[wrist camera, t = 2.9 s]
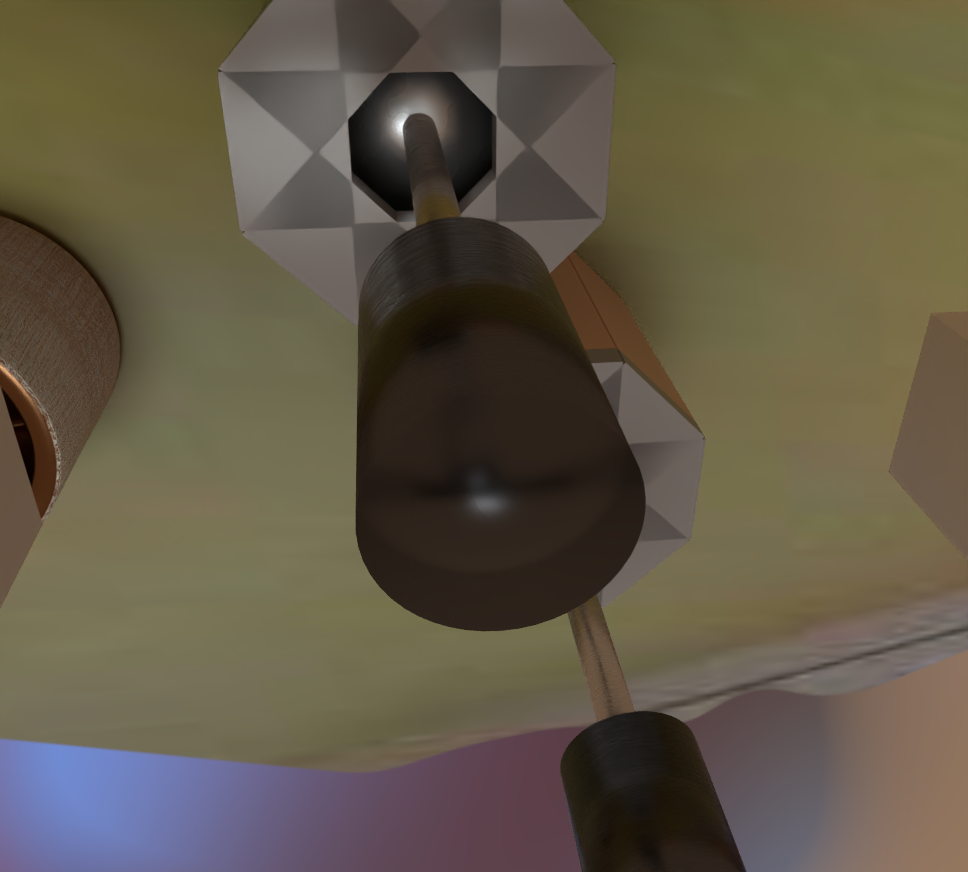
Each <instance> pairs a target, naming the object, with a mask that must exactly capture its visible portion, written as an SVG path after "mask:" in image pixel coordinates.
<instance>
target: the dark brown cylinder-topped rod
mask: <svg viewBox="0 0 968 872" xmlns="http://www.w3.org/2000/svg"><path fill="white" fill-rule="evenodd" d="M349 132H350V146H351V159H352V172H353V173H354V174H355V175H356V176H357V177H358V178H359V179H360V180H362V181H363V182H364V183H365V184H366V185H367V186H368V187H369V188H370V189H372V190H373V191H374V192H375V193H376V194H377V195H378V196H379V197H380V198H382V199H383V200H384V201H385V202H386V203H387V204H388V205H389V206H391V207H392V208H393V209H394V210H395V211H414V214H415V221H416V227H414V228H412V229H410V230H408V231H406V232H404V233H403V234H402V235H400V236H399V237H397V238H396V239H394V240H393V241H392V242H391V243H390V244H389V245H388V246H387V247H386V248H385V249H384V250H383V251H382V252H381V253H380V254H379V256H378V257H377V258H376V259H375V261H374V263H373V264H372V266H371V267H370V269H369V271H368V273H367V275H366V278H365V280H364V282H363V286H362V289H361V293H360V300H359V317H358V388H357V460H356V536H357V542H358V547H359V550H360V553H361V556H362V559H363V562H364V564H365V565H366V567H367V569H368V571H369V573H370V575H371V576H372V577H373V579H374V580H375V581H376V583H377V584H378V585H379V587H380V588H381V589H382V590H383V591H384V592H385V593H386V594H387V595H388V596H389V597H390V598H391V599H393V600H394V601H395V602H397V603H398V604H399V605H401V606H402V607H403V608H405V609H407V610H408V611H410V612H412V613H414V614H416V615H417V616H419V617H422V618H424V619H427V620H429V621H431V622H434V623H438V624H441V625H444V626H448V627H452V628H458V629H464V630H474V631H503V630H511V629H519V628H523V627H528V626H532V625H536V624H539V623H542V622H545V621H548V620H551V619H554V618H556V617H558V616H561V615H563V614H565V613H568V612H569V611H571V610H573V609H575V608H577V607H578V606H580V605H582V604H584V603H585V602H586V601H588V600H589V599H591V598H592V597H593V596H595V595H596V594H598V593H599V592H600V591H601V590H602V589H603V588H604V587H605V586H606V585H608V584H609V583H610V582H611V581H612V580H613V578H614V577H615V576H616V575H617V574H618V573H619V572H620V571H621V569H622V568H623V566H624V565H625V563H626V562H627V560H628V559H629V558H630V556H631V554H632V552H633V550H634V548H635V546H636V544H637V542H638V539H639V536H640V534H641V531H642V528H643V522H644V517H645V508H646V495H645V487H644V481H643V478H642V474H641V471H640V468H639V465H638V463H637V461H636V459H635V457H634V455H633V452H632V450H631V448H630V446H629V444H628V442H627V439H626V437H625V435H624V433H623V431H622V429H621V426H620V424H619V422H618V420H617V418H616V416H615V413H614V411H613V409H612V407H611V405H610V403H609V400H608V398H607V396H606V394H605V392H604V390H603V387H602V385H601V383H600V381H599V379H598V377H597V374H596V372H595V370H594V368H593V366H592V364H591V361H590V359H589V357H588V355H587V353H586V351H585V348H584V346H583V344H582V342H581V340H580V338H579V335H578V333H577V331H576V329H575V327H574V325H573V322H572V320H571V318H570V316H569V314H568V312H567V309H566V307H565V305H564V303H563V301H562V299H561V296H560V294H559V292H558V290H557V288H556V286H555V283H554V281H553V279H552V277H551V275H550V273H549V271H548V269H547V266H546V264H545V263H544V261H543V260H542V258H541V257H540V255H539V254H538V252H537V251H536V250H535V249H534V248H533V247H532V246H531V245H530V243H528V242H527V241H526V240H525V239H524V238H522V237H521V236H520V235H518V234H517V233H515V232H514V231H512V230H510V229H509V228H507V227H504V226H502V225H500V224H498V223H495V222H492V221H488V220H485V219H480V218H473V217H461V213H460V210H459V206H458V203H459V202H460V201H461V200H462V199H463V198H464V197H465V196H466V195H467V194H468V192H469V191H470V190H471V189H472V188H473V187H474V186H475V185H476V184H477V183H478V182H479V181H480V180H481V179H482V178H483V177H484V176H485V175H486V174H487V173H488V172H489V171H490V170H491V169H492V111H491V110H490V109H489V108H488V107H487V106H486V105H485V104H484V103H483V102H482V101H481V100H480V99H479V98H478V97H477V96H476V95H475V94H474V93H473V92H472V91H471V90H470V89H469V88H468V87H467V86H466V85H465V84H464V83H463V82H462V81H461V80H460V79H459V78H458V76H457V75H456V74H455V73H454V72H404V73H389V74H388V75H387V76H386V77H385V78H384V79H383V80H382V82H381V83H380V84H379V85H378V86H377V87H376V88H375V90H374V91H373V92H372V93H371V94H370V95H369V96H368V97H367V99H366V100H365V101H364V102H363V103H362V104H361V105H360V107H359V108H358V109H357V110H356V111H355V112H354V113H353V114H352V116H351V117H350V118H349Z"/></svg>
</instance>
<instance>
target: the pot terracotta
mask: <svg viewBox="0 0 968 872" xmlns="http://www.w3.org/2000/svg"><path fill="white" fill-rule="evenodd" d="M550 275H551V277H552V279H553V281H554V283H555V286H556V288H557V290H558V292H559V294H560V296H561V299H562V301H563V303H564V305H565V307H566V309H567V312H568V314H569V316H570V318H571V320H572V322H573V325H574V327H575V329H576V331H577V333H578V335H579V338H580V340H581V342H582V344H583V346H584V348H585V351H586V353H587V355H588V357H589V359H590V361H591V364H592V366H593V368H594V370H595V372H596V374H597V377H598V379H599V381H600V383H601V385H602V387H603V390H604V392H605V394H606V396H607V398H608V400H609V403H610V405H611V407H612V409H613V411H614V413H615V416H616V418H617V420H618V422H619V424H620V426H621V429H622V431H623V433H624V435H625V437H626V439H627V442H628V444H629V446H630V448H631V450H632V452H633V455H634V457H635V459H636V461H637V463H638V465H639V468H640V471H641V474H642V478H643V481H644V487H645V495H646V508H645V517H644V522H643V528H642V531H641V534H640V536H639V539H638V542H637V544H636V546H635V548H634V550H633V552H632V554H631V556H630V558H629V559H628V560H627V562H626V563H625V565H624V566H623V568H622V569H621V571H620V572H619V573H618V574H617V575H616V576H615V577H614V578H613V580H612V581H611V582H610V583H609V584H608V585H606V586H605V587H604V588H603V589H602V590H601V591H600V592H599V593H598V594H597V595H598V599H599V602H600V605H601V606H602V607H603V608H604V607H606V606H607V605H608V604H609V603H611V602H612V601H613V600H615V599H616V598H617V597H618V596H620V595H621V594H622V593H623V592H625V591H626V590H627V589H628V588H630V587H631V586H632V585H633V584H635V583H636V582H637V581H639V580H640V579H641V578H642V577H644V576H645V575H646V574H647V573H649V572H650V571H651V570H652V569H654V568H655V567H656V566H658V565H659V564H660V563H661V562H663V561H664V560H665V559H666V558H668V557H669V556H670V555H671V554H673V553H674V552H675V551H676V550H678V549H679V548H680V547H682V546H683V545H684V544H685V543H687V542H688V541H689V538H691V534H692V528H693V521H694V514H695V507H696V501H697V494H698V487H699V480H700V473H701V467H702V460H703V453H704V446H705V440H706V439H705V436H704V435H703V433H702V431H701V430H700V428H699V426H698V425H697V423H696V422H695V420H694V418H693V417H692V415H691V413H690V412H689V410H688V408H687V407H686V405H685V403H684V402H683V400H682V398H681V397H680V395H679V393H678V392H677V390H676V388H675V387H674V385H673V383H672V382H671V380H670V378H669V377H668V375H667V373H666V372H665V370H664V368H663V367H662V365H661V363H660V362H659V360H658V358H657V357H656V355H655V353H654V352H653V350H652V348H651V347H650V345H649V343H648V342H647V340H646V338H645V337H644V335H643V333H642V332H641V330H640V329H639V327H638V325H637V324H636V322H635V320H634V319H633V317H632V315H631V314H630V312H629V310H628V309H627V307H626V305H625V304H624V302H623V300H622V299H621V297H620V296H619V295H618V294H617V293H616V292H615V291H614V290H613V289H612V288H611V287H610V286H608V285H607V284H606V283H605V282H604V281H603V280H602V279H601V278H600V277H599V276H598V275H597V274H596V273H595V272H594V271H593V270H592V269H591V268H590V267H589V266H588V265H587V264H586V263H585V262H584V261H583V260H582V259H581V258H580V257H579V256H578V255H577V254H576V253H575V252H574V251H573V252H572V253H571V254H569V255H568V256H567V257H566V258H565V259H564V260H563V261H562V262H561V263H560V264H559V265H558V266H557V267H556V268H555V269H554V270H553V271H552V272H551V273H550Z"/></svg>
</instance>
